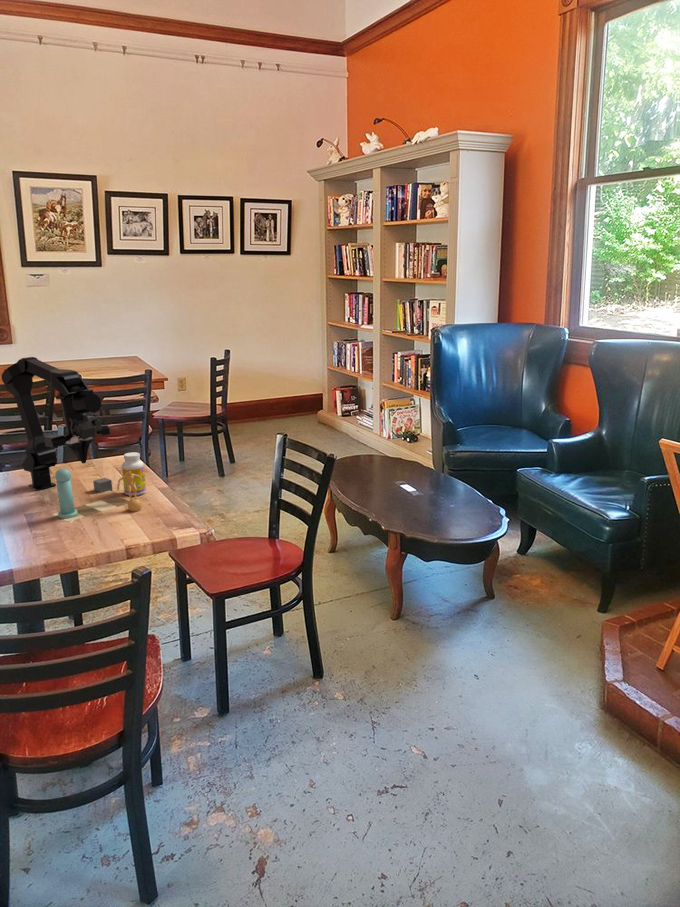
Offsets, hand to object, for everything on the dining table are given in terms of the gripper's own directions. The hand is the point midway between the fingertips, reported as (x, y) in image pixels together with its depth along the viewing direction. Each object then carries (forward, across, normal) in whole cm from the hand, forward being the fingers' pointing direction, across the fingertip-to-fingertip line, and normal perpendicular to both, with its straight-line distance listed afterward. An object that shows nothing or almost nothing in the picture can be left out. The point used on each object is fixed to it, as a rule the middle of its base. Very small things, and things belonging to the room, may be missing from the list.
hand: (84, 463), depth 210 cm
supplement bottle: (+13, +12, -6) cm, 18 cm away
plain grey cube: (+11, +6, +3) cm, 13 cm away
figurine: (+14, +2, -20) cm, 25 cm away
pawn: (+11, -13, -11) cm, 20 cm away
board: (+12, -5, -10) cm, 17 cm away
